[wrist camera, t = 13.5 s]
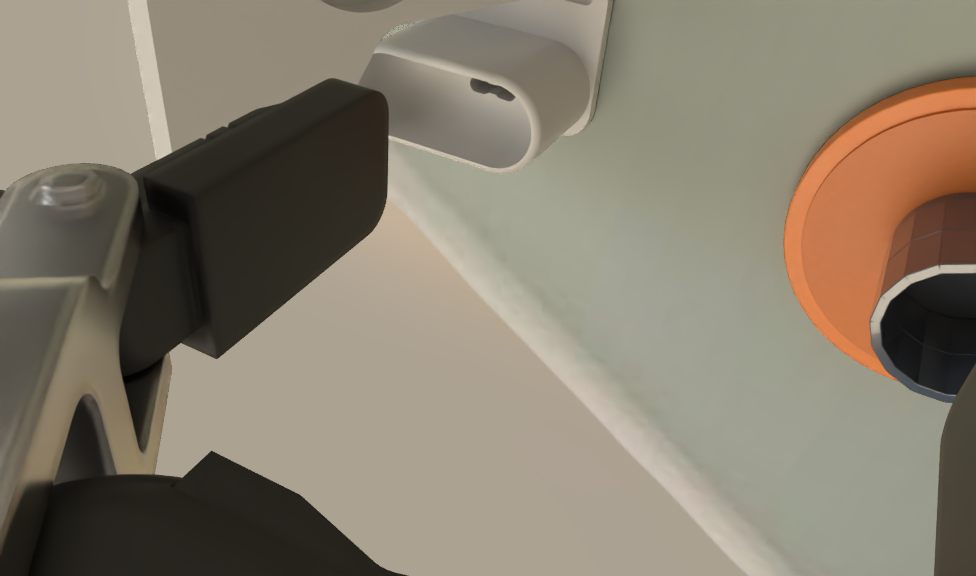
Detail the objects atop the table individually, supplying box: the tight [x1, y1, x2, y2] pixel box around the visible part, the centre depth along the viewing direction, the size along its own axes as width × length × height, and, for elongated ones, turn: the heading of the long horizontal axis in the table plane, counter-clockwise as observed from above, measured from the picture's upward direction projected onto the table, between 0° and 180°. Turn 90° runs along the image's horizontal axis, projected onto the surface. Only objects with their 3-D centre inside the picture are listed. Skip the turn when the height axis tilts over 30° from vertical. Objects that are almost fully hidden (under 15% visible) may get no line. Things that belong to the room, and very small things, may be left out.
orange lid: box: [784, 77, 976, 381], centre depth 34 cm, size 14×14×2 cm
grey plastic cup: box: [869, 192, 976, 403], centre depth 31 cm, size 6×6×6 cm
